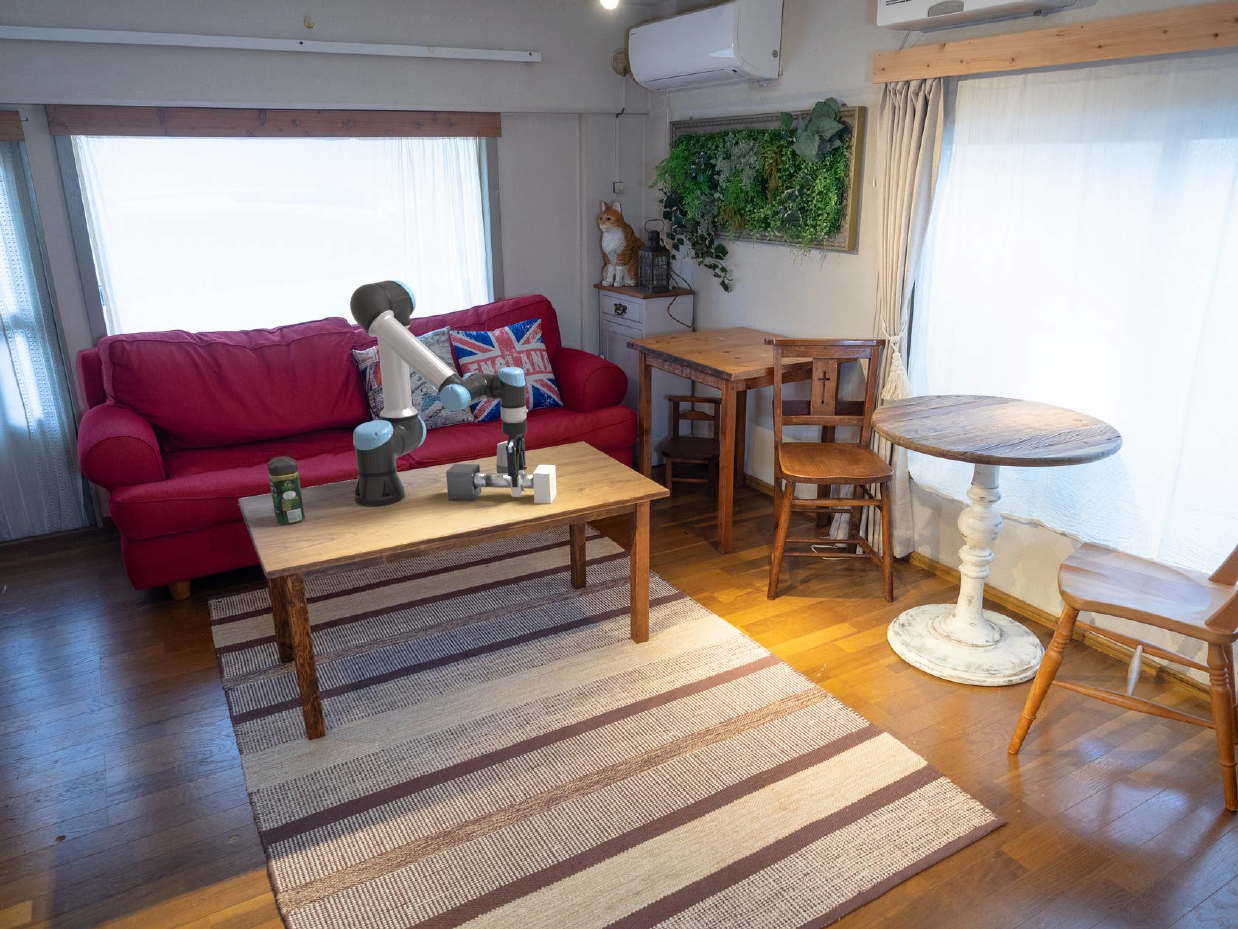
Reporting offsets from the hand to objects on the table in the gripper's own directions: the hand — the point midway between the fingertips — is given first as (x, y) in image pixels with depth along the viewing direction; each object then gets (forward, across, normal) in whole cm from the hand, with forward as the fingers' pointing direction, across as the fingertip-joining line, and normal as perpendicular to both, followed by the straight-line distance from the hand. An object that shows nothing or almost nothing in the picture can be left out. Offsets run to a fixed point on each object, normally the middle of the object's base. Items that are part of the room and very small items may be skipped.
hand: (518, 493), depth 263 cm
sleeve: (+1, 0, +17) cm, 17 cm away
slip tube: (-2, 0, +5) cm, 5 cm away
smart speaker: (+2, +18, +7) cm, 19 cm away
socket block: (+1, 0, -8) cm, 9 cm away
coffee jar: (+2, -24, +62) cm, 67 cm away
